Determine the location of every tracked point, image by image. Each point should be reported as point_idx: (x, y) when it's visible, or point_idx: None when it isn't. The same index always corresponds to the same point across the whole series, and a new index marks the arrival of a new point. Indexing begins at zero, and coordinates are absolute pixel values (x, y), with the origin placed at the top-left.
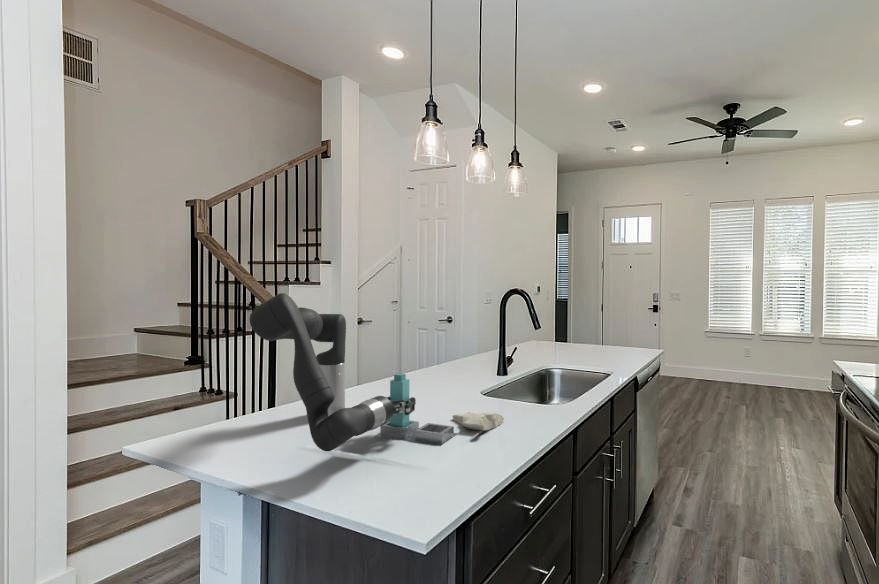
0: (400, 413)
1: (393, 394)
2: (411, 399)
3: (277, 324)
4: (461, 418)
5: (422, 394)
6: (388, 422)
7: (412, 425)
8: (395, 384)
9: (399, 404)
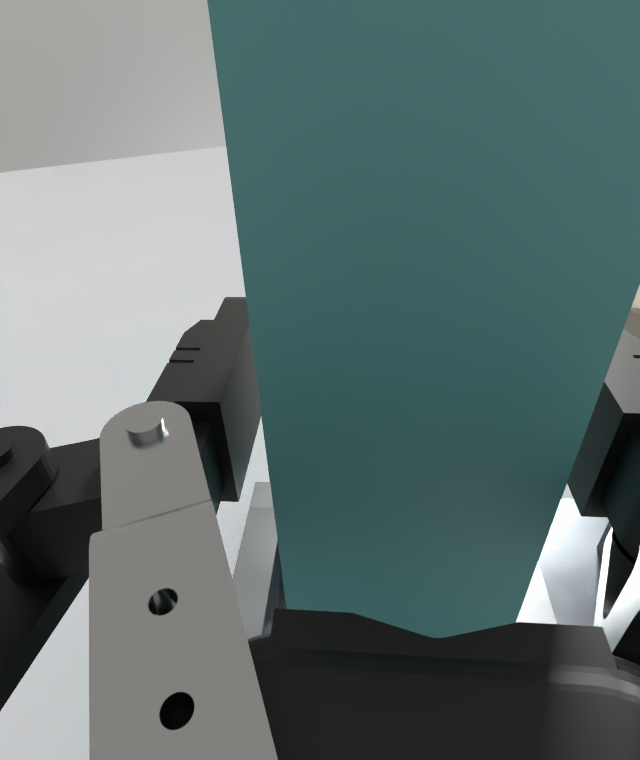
0: (477, 614)
1: (345, 367)
2: (626, 362)
3: None
4: (630, 322)
5: (208, 185)
6: (245, 620)
7: (554, 616)
8: (425, 80)
9: (628, 641)
